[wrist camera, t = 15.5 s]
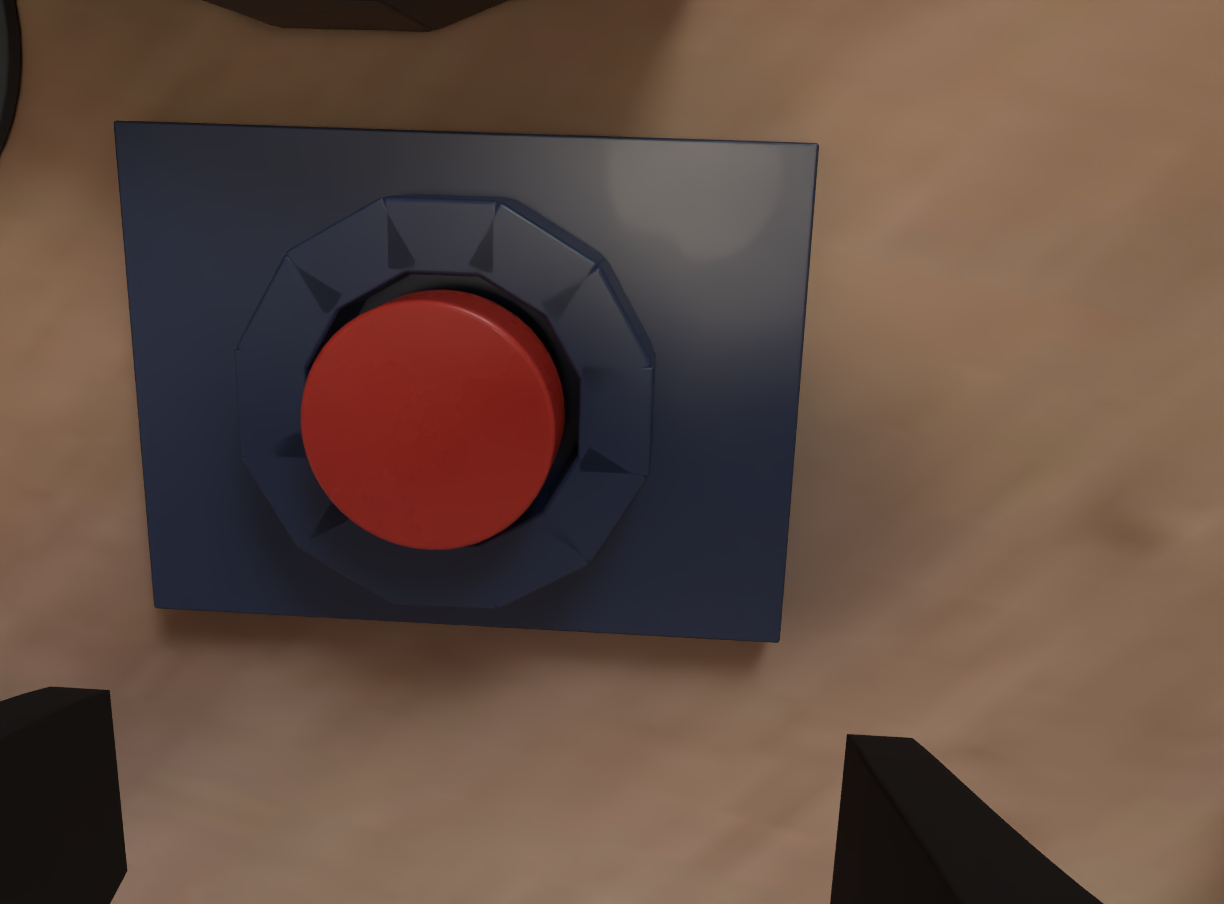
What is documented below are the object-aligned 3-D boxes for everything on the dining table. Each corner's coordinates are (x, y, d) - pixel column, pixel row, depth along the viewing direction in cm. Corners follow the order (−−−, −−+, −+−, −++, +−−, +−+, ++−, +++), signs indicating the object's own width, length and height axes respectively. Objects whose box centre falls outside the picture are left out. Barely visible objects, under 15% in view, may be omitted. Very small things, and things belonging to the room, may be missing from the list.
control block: (174, 591, 21) (110, 644, 19) (137, 122, 19) (59, 115, 17) (775, 624, 21) (788, 683, 18) (813, 144, 18) (832, 140, 16)
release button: (334, 515, 19) (304, 545, 17) (325, 283, 17) (292, 294, 16) (563, 526, 18) (552, 558, 17) (567, 293, 17) (557, 304, 16)
